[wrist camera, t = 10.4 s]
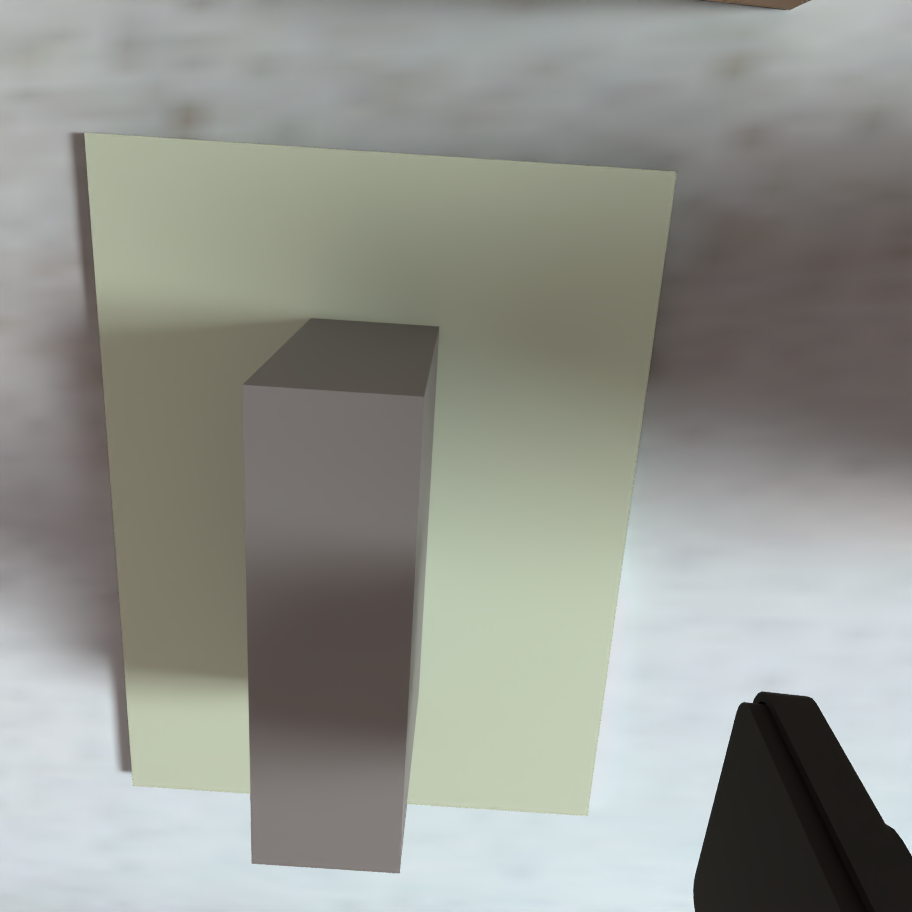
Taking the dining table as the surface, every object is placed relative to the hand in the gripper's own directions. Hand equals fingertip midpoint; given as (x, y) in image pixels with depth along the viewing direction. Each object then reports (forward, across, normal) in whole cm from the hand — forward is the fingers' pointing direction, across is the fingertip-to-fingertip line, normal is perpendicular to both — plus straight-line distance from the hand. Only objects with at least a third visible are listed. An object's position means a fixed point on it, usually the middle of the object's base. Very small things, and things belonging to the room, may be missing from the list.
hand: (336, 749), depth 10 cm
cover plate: (+8, +1, 0) cm, 9 cm away
